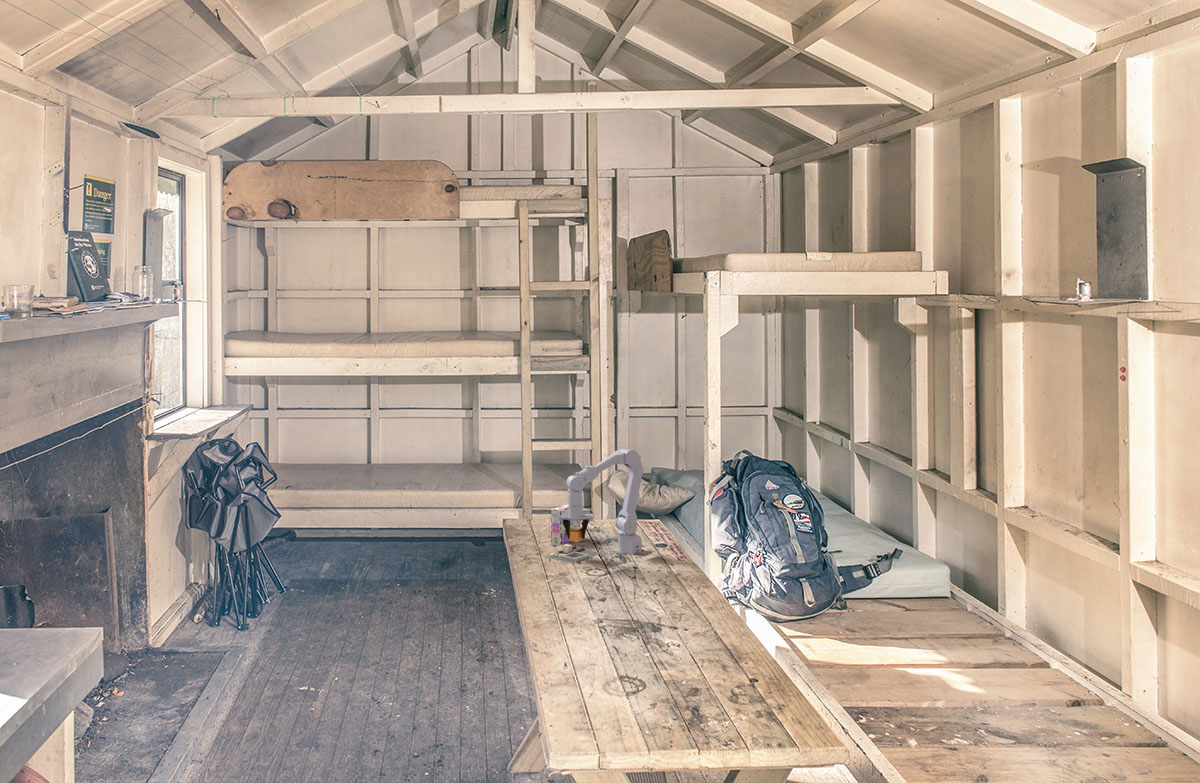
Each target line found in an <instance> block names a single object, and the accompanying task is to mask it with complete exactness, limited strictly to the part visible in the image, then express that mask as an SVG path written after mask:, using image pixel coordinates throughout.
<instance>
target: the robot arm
mask: <svg viewBox="0 0 1200 783" xmlns="http://www.w3.org/2000/svg"><path fill="white" fill-rule="evenodd" d="M641 458H642V457H641V455H640V454H639V452H637V451H636V450H634V449H630V448H627V447H621V448H619V449H618V450H615V451H614V452H612V454H610V455H609V456H607V457H606V458H605V459H603V460H601V461H599V463H596V465H586V466H585V467H584V469H582V470H580V471H576V472H575V475H570V476H568V477H567V478H566V481H565V486H566V487H567V500H568V503H567V504H568V505H569V515H559V516H558V521H563V526H564V527H565V529H566V532H567V535H568V539H570V532H569V529H570V521H580V522H581V527H582V539H583V540H584V539H585V537H586V532H587V528H588V526H589V523H590V522H594V520H595V516H594V515H592V514H591V515H588V514H584V512H583V511H584V510H583V508H584V507H583V489H584V488H585V485H588V484H589V483H591V482H592V481H594V480H596V479H598V477H599V474H600V473H602V472H603V471H605V470H607V469H609V468H611V467H612V466H614V465H624V466H625V467H626V468H627V470H628V471H629V474H628V479H627V484H626V488H625V495H624V499H623V503H622V504H623V505H622V508H621V509H620V511H619V512H618V516H617V517H616V518H615V522H614V523H615V527H616V529H617V530H618V531H617V542H618V543H617V544H618V550H617V551H618V552H619V553H621V554H629V555H635V554H638V553H640V552H642V549H643V548H642V543H643V542H642V538H641V536H640V535H639V534H637V533H636V532H637V530H638V523H637V521H638V516H637V513H636V509H637V504H638V498H639V495H640V488H641V484H642V478H643V474H644V473H643V472H644V468H643V464H642V460H641Z"/></svg>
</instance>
